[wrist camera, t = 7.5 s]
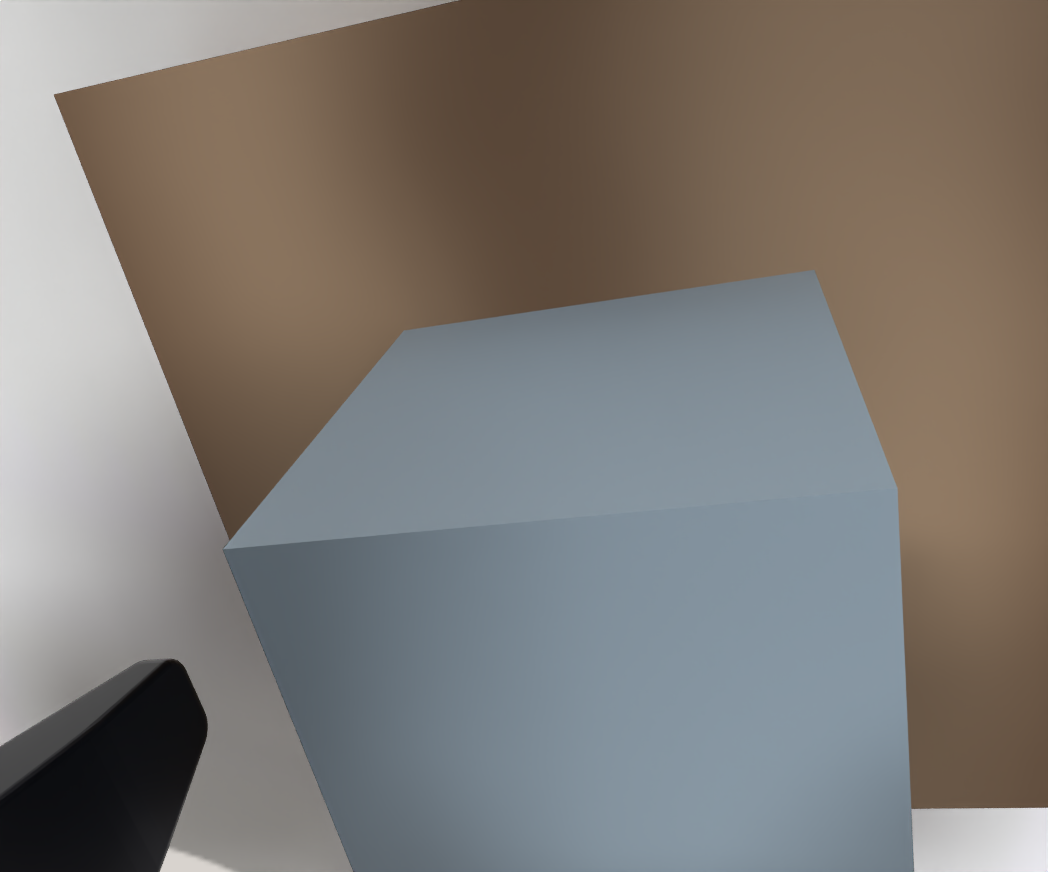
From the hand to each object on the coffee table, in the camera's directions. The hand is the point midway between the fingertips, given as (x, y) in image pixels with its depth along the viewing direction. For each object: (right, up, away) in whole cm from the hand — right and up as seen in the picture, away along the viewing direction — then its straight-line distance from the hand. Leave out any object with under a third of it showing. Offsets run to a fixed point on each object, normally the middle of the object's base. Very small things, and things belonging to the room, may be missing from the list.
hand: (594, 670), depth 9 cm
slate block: (+1, +2, +3) cm, 4 cm away
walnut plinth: (+1, +3, +6) cm, 7 cm away
